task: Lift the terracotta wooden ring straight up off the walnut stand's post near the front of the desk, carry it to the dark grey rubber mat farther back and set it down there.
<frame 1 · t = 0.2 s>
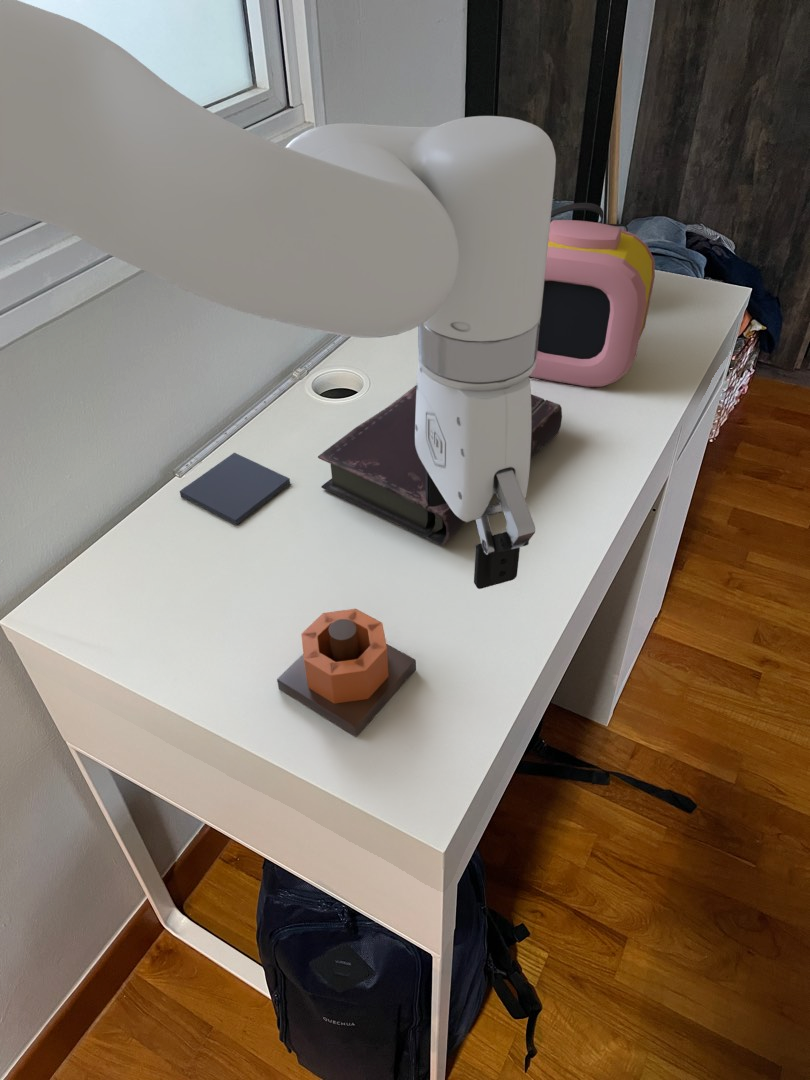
hand: (468, 539, 63), 17 cm above the table, tool pointing down, fingers open, 9 cm apart
ring: (346, 669, 74), point 1 cm above the table, touching stand
camera: (571, 304, 128), on the table
diary: (442, 463, 99), on the table
mat: (235, 489, 96), on the table
alarm clock: (566, 367, 114), on the table
ink box: (437, 353, 118), on the table
stand: (348, 679, 75), on the table
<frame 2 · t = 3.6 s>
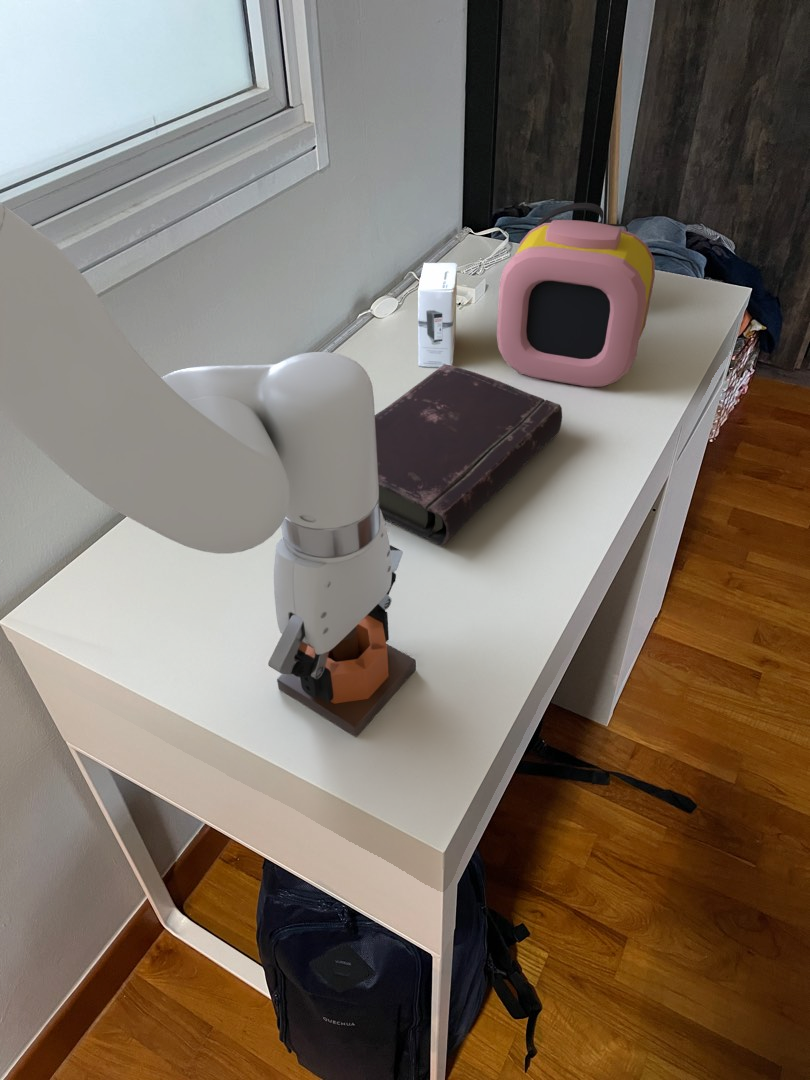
hand: (346, 662, 73), 2 cm above the table, tool pointing down, fingers closed on ring, 7 cm apart
ring: (346, 669, 74), point 2 cm above the table, touching gripper, stand
everything else where it was.
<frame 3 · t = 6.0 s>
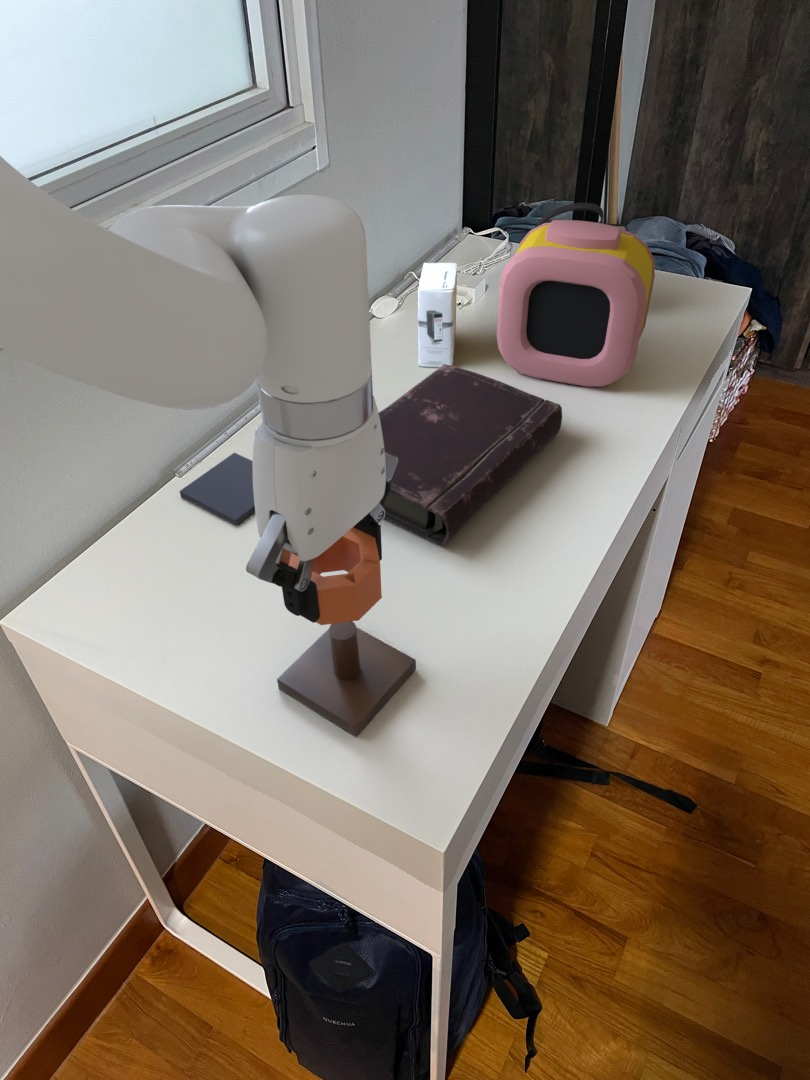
hand: (334, 582, 66), 13 cm above the table, tool pointing down, fingers closed on ring, 7 cm apart
ring: (335, 590, 67), point 12 cm above the table, touching gripper
everything else where it was.
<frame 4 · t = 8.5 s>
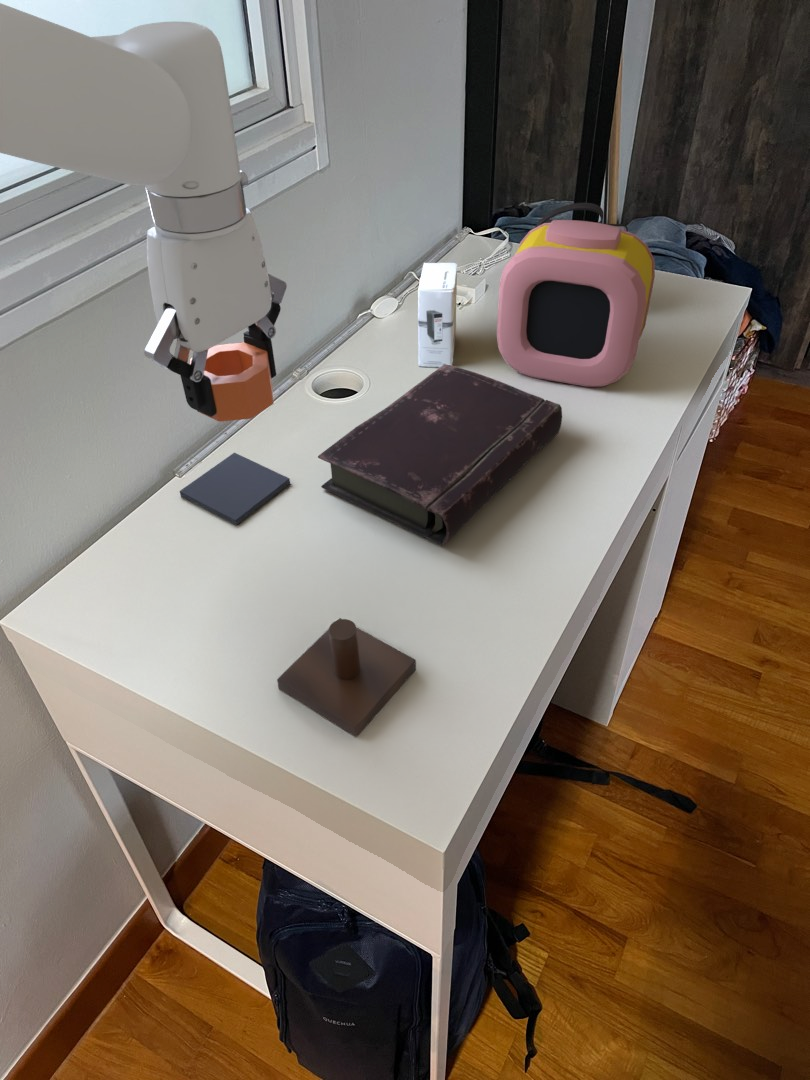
hand: (233, 390, 78), 18 cm above the table, tool pointing down, fingers closed on ring, 7 cm apart
ring: (235, 399, 79), point 17 cm above the table, touching gripper
everything else where it was.
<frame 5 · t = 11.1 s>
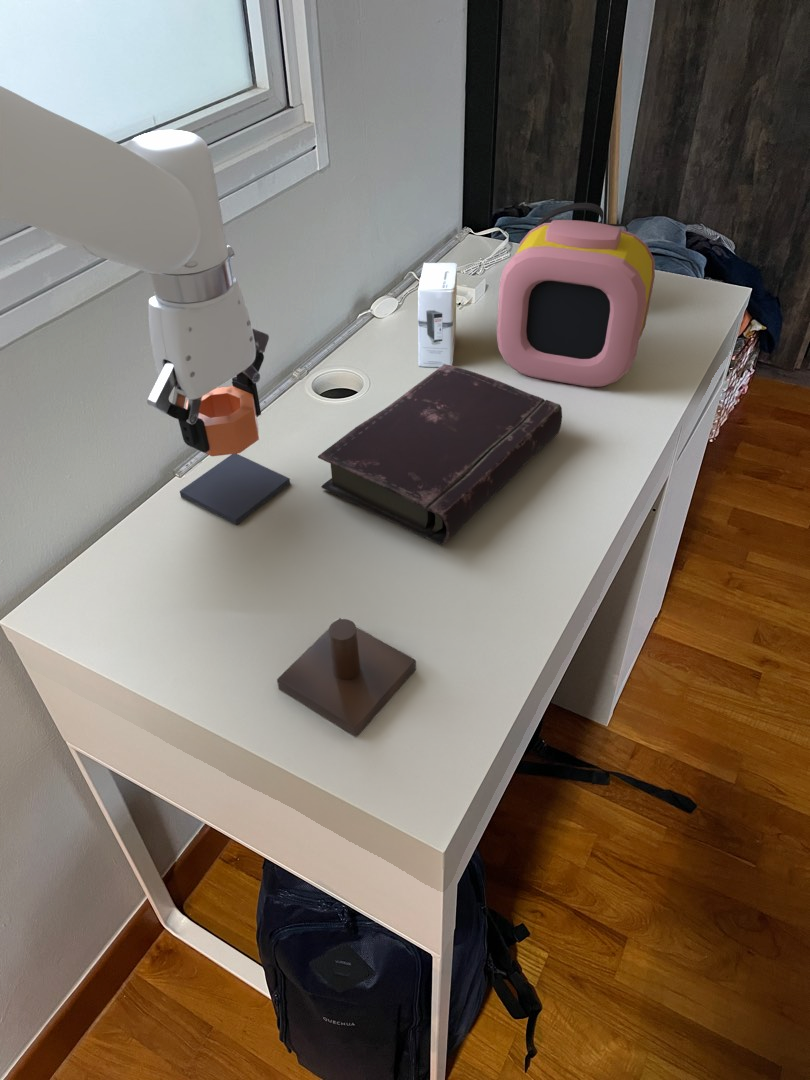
hand: (224, 428, 90), 9 cm above the table, tool pointing down, fingers closed on ring, 7 cm apart
ring: (225, 435, 90), point 8 cm above the table, touching gripper
everything else where it was.
when the fingers open (2 cm above the table, at t = 13.3 s): ring stays where it is, resting on mat.
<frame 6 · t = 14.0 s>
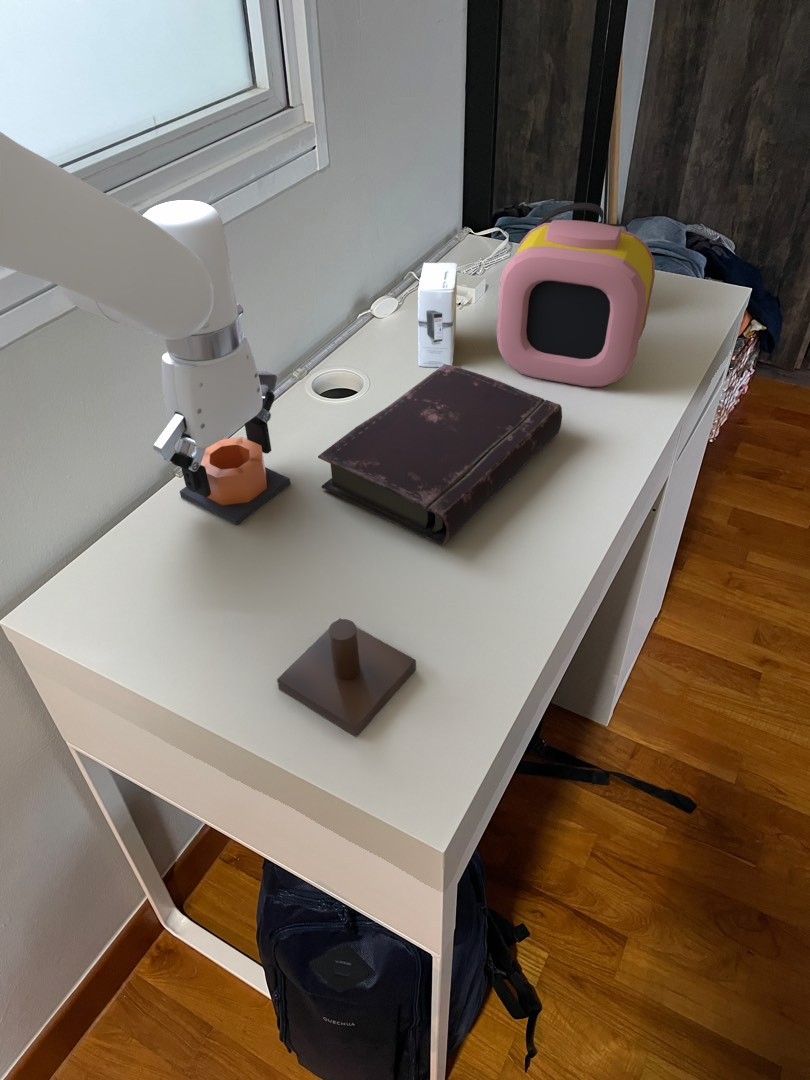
hand: (230, 469, 93), 3 cm above the table, tool pointing down, fingers open, 9 cm apart
ring: (235, 484, 95), point 1 cm above the table, touching mat
everything else where it was.
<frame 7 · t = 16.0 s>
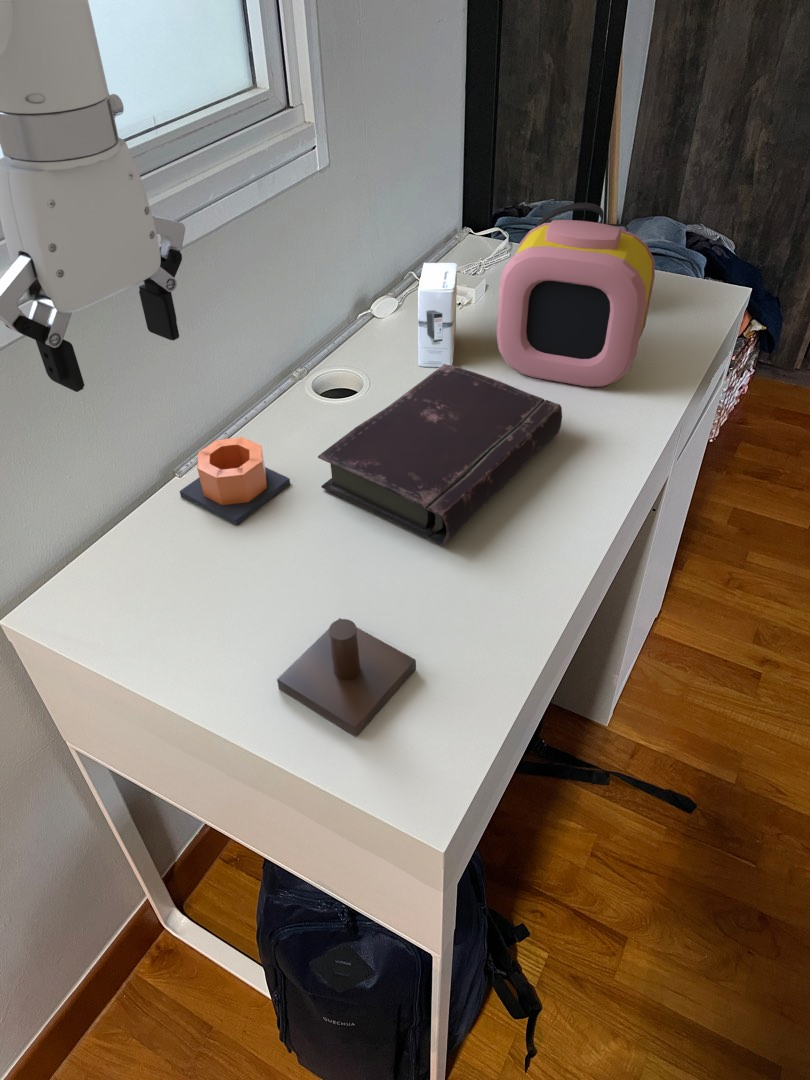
hand: (118, 359, 66), 27 cm above the table, tool pointing down, fingers open, 9 cm apart
nothing on the table moved.
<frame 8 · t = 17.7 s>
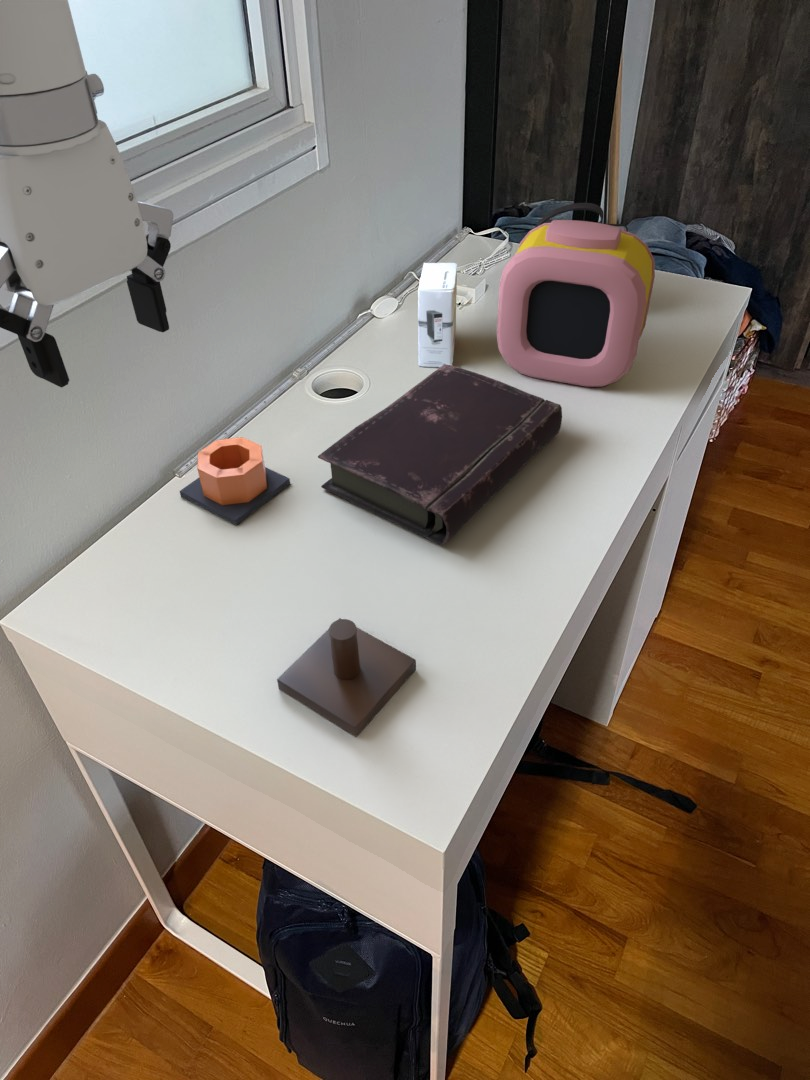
hand: (106, 352, 63), 28 cm above the table, tool pointing down, fingers open, 9 cm apart
nothing on the table moved.
at the end: ring 0.1 cm off-centre on the mat, point 0.8 cm above the mat's base; ring tilted 0°; ring moved 31.3 cm from its start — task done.
